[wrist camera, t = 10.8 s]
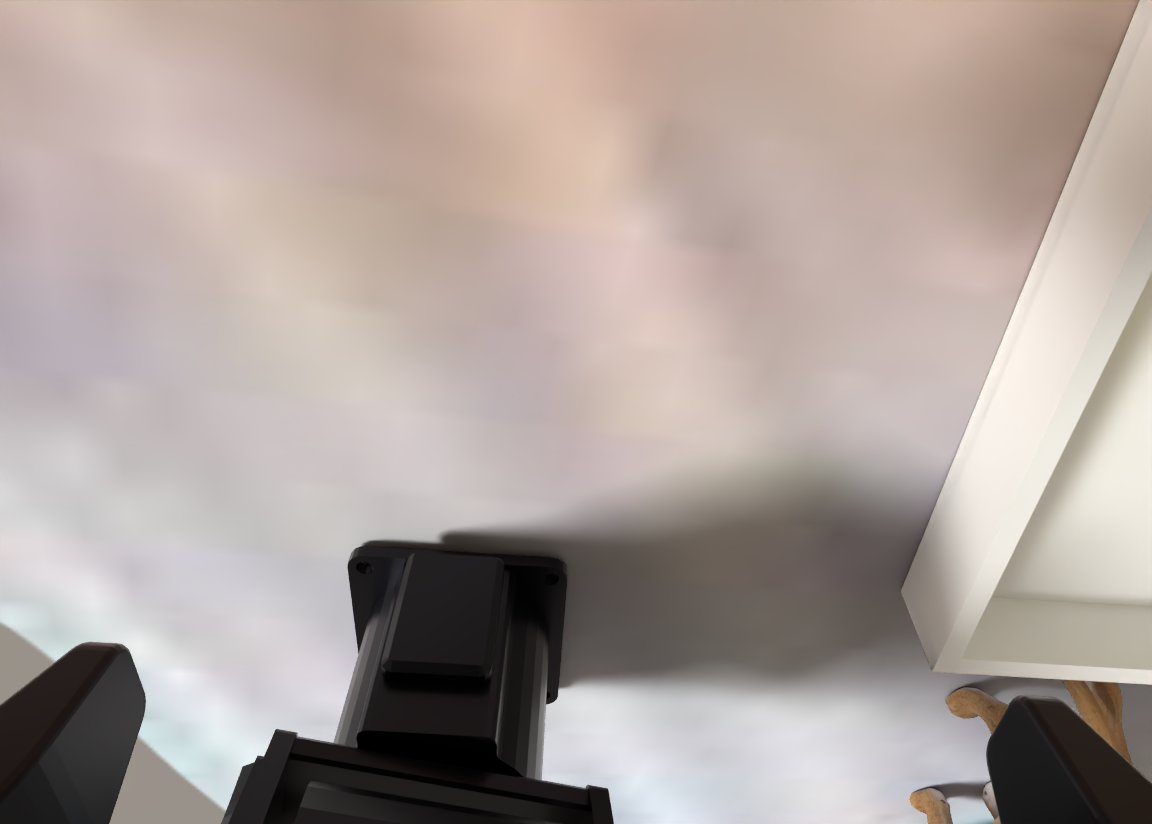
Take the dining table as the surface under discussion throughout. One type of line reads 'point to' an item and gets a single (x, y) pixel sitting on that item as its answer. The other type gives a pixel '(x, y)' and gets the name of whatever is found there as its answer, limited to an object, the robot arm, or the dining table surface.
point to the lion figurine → (1091, 699)
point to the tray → (1061, 436)
